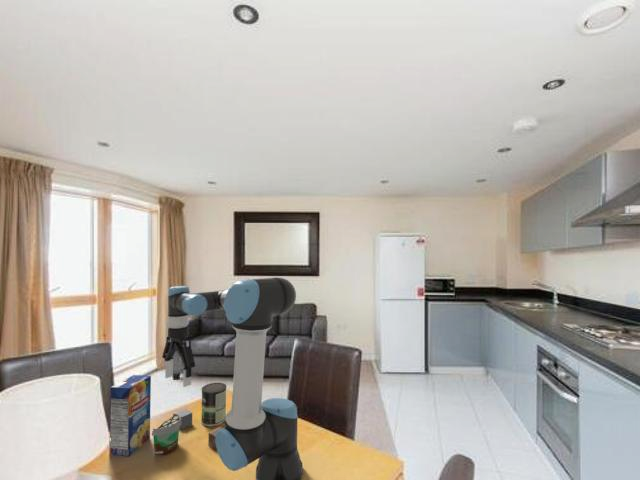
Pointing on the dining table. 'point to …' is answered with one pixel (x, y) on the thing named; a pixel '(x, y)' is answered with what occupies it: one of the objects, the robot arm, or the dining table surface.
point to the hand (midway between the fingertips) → (177, 381)
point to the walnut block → (213, 438)
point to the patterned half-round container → (166, 436)
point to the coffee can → (213, 404)
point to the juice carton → (129, 415)
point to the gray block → (185, 418)
